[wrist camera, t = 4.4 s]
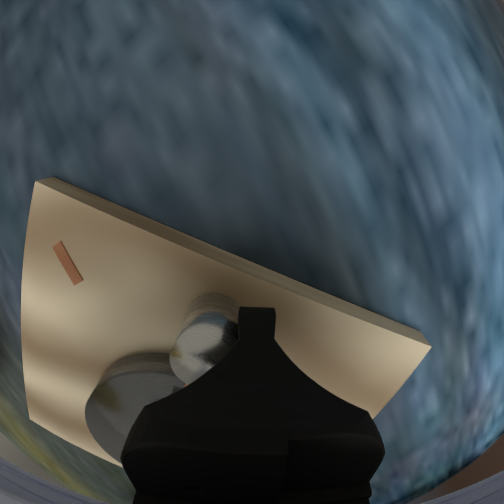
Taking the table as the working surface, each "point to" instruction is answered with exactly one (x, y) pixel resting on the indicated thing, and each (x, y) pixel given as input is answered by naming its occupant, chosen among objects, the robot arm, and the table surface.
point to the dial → (160, 370)
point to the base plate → (171, 309)
